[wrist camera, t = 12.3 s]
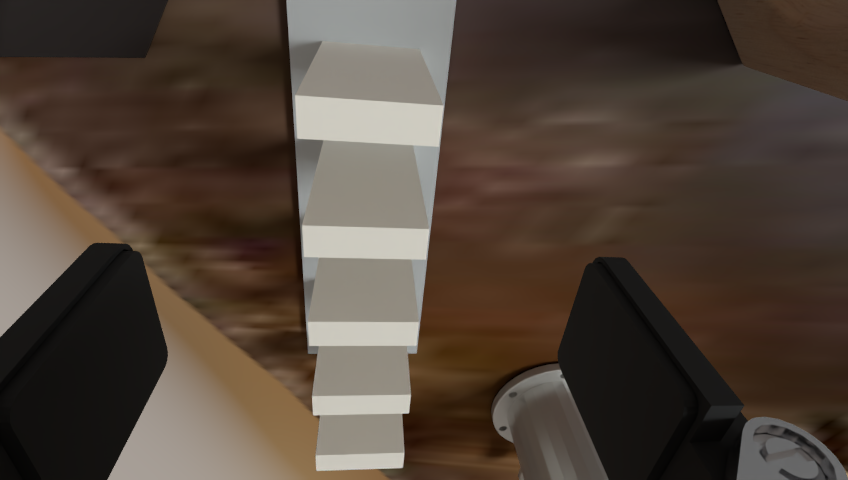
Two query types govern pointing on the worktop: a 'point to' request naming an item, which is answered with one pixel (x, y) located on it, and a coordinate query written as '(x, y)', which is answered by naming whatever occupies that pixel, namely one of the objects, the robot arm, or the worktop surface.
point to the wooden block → (793, 40)
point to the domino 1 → (369, 96)
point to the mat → (382, 26)
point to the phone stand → (78, 27)
